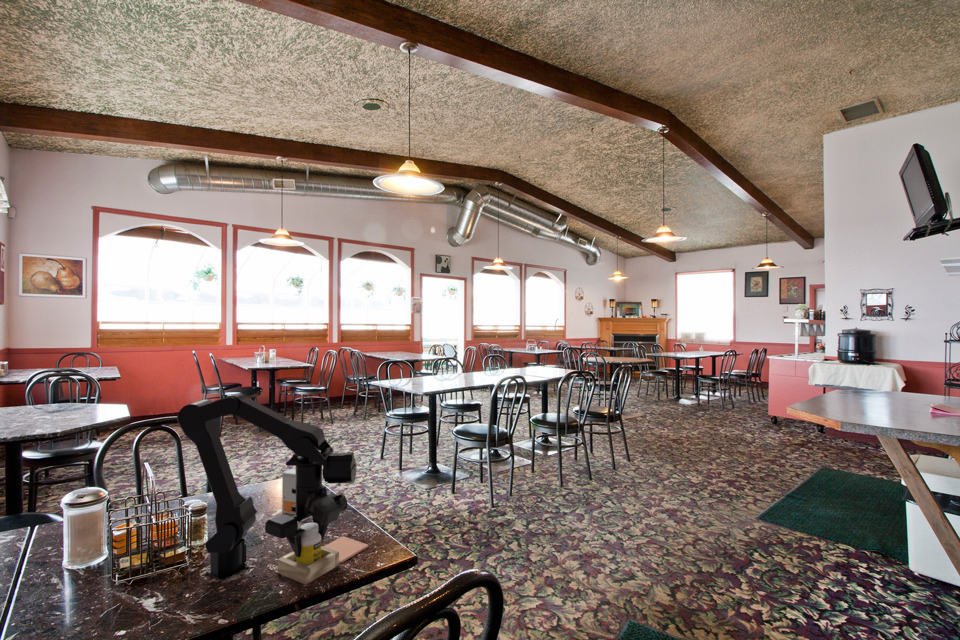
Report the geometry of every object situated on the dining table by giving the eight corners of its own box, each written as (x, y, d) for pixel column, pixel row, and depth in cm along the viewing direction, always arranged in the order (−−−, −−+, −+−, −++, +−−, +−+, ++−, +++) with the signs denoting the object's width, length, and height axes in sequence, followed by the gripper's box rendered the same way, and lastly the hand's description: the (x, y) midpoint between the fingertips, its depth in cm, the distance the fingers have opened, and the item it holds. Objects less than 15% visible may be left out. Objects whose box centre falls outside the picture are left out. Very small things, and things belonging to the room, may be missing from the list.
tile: (341, 563, 110) (341, 561, 110) (314, 553, 115) (314, 551, 115) (368, 546, 118) (368, 544, 118) (342, 538, 122) (342, 536, 122)
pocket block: (305, 584, 101) (305, 571, 101) (277, 572, 106) (277, 559, 106) (339, 564, 109) (339, 552, 109) (311, 554, 114) (311, 542, 114)
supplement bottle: (316, 575, 105) (316, 531, 105) (292, 575, 105) (292, 531, 105) (324, 562, 110) (324, 521, 110) (301, 562, 110) (301, 520, 110)
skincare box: (281, 513, 137) (281, 472, 137) (291, 507, 142) (291, 467, 141) (299, 515, 136) (299, 474, 136) (308, 510, 140) (308, 469, 140)
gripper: (298, 504, 95) (297, 581, 95) (364, 477, 111) (364, 543, 111) (263, 493, 101) (263, 566, 101) (331, 469, 117) (331, 531, 117)
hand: (308, 551), depth 107 cm, fingers closed on supplement bottle, 5 cm apart
